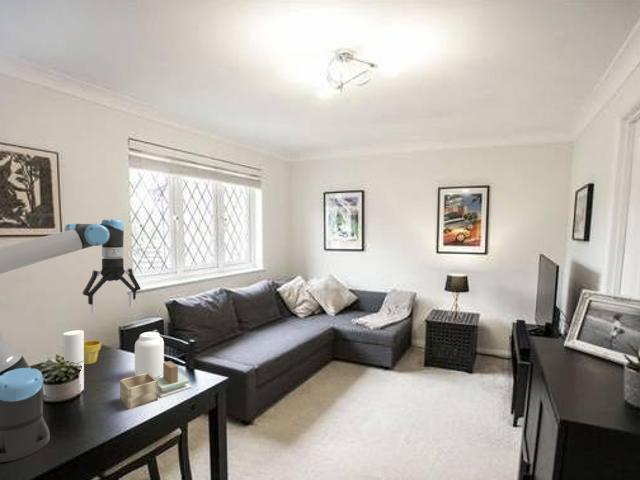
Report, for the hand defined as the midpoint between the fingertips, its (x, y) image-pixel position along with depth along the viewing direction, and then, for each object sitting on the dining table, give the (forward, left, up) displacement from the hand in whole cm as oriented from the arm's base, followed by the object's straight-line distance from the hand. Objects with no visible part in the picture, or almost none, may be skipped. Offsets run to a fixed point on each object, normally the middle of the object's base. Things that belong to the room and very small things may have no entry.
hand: (112, 309), depth 141 cm
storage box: (+8, -8, -37) cm, 38 cm away
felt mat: (+21, -6, -37) cm, 43 cm away
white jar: (+19, +14, -37) cm, 44 cm away
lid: (+21, -6, -36) cm, 42 cm away
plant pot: (+2, +51, -37) cm, 63 cm away
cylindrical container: (-10, +19, -37) cm, 43 cm away
